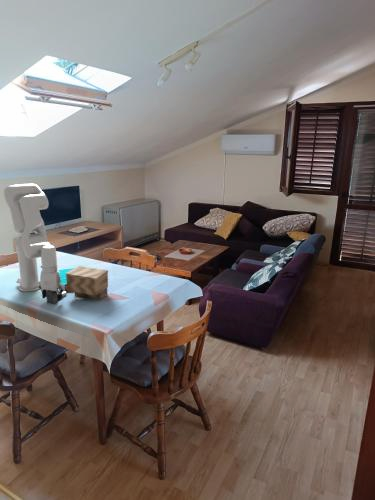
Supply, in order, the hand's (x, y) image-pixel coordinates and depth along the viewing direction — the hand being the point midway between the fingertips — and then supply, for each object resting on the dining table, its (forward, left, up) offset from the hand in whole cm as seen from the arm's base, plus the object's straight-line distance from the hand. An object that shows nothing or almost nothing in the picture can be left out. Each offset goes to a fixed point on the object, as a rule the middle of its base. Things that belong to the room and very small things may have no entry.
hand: (52, 298), depth 194 cm
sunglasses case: (-1, +23, -3) cm, 23 cm away
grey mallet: (0, +5, -2) cm, 5 cm away
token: (+11, +9, -2) cm, 14 cm away
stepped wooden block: (+14, +13, -2) cm, 19 cm away
